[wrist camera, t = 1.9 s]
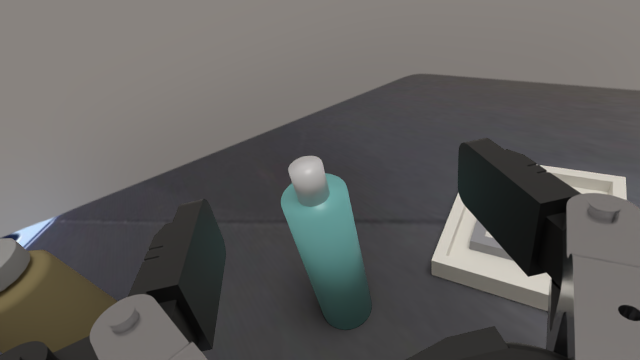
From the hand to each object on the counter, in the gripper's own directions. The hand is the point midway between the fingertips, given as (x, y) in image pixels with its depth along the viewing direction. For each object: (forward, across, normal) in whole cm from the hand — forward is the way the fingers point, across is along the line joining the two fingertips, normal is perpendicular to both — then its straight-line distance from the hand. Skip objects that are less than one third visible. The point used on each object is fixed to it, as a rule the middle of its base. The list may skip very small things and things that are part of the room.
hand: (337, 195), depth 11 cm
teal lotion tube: (+13, 0, +20) cm, 24 cm away
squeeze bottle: (+15, +24, +22) cm, 36 cm away
